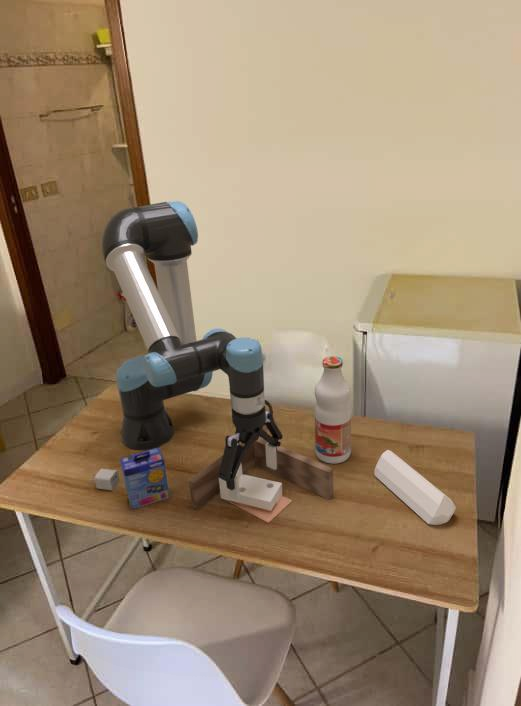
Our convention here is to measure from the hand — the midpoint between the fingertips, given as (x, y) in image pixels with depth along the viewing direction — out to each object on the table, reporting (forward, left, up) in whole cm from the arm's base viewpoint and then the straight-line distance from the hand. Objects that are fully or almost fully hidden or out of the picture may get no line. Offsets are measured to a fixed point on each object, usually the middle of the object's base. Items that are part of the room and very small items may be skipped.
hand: (253, 482), depth 131 cm
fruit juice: (+5, +26, -5) cm, 27 cm away
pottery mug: (-23, +26, -5) cm, 35 cm away
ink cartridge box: (-22, -15, -5) cm, 27 cm away
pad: (0, 0, -5) cm, 5 cm away
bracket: (-1, -1, -5) cm, 5 cm away
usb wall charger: (-35, -19, -5) cm, 40 cm away
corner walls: (+2, 0, -5) cm, 5 cm away
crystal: (+30, +23, -5) cm, 38 cm away
